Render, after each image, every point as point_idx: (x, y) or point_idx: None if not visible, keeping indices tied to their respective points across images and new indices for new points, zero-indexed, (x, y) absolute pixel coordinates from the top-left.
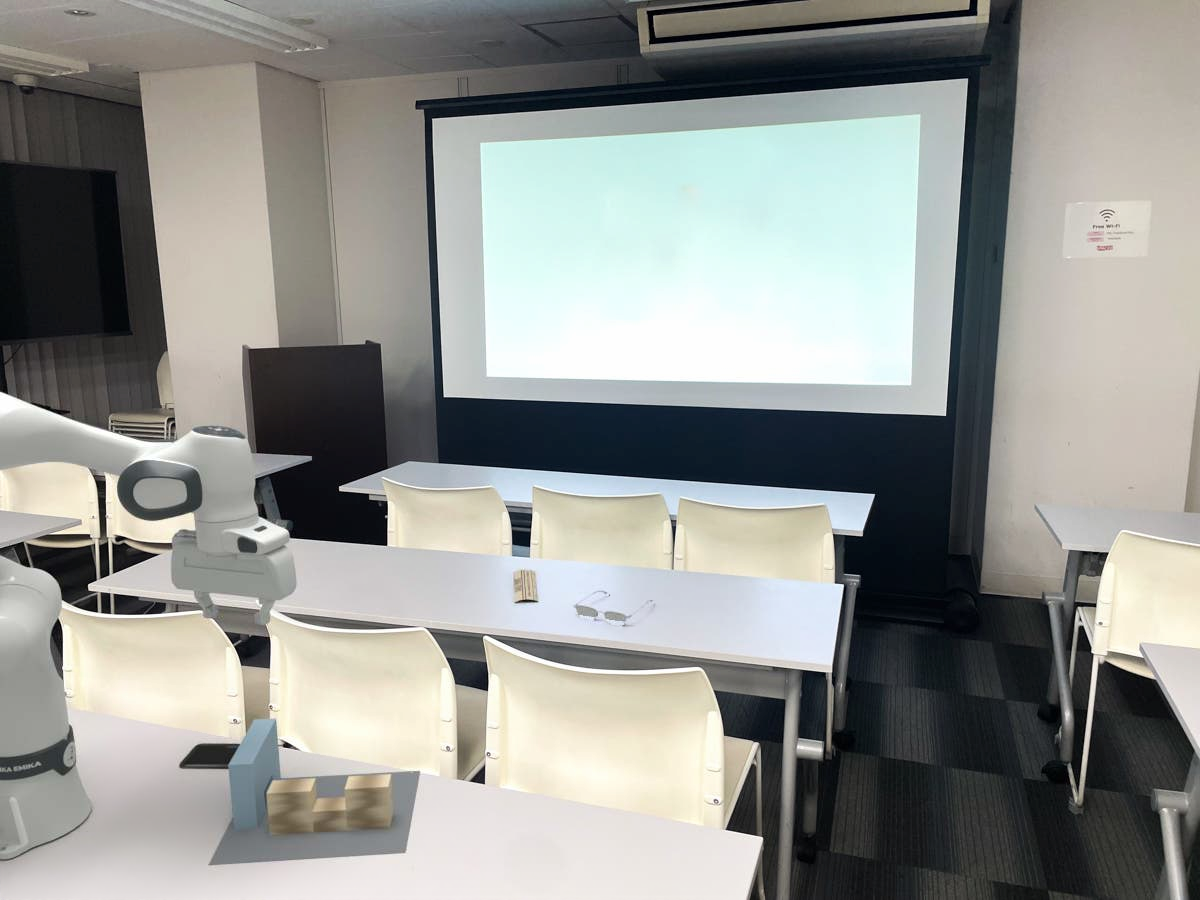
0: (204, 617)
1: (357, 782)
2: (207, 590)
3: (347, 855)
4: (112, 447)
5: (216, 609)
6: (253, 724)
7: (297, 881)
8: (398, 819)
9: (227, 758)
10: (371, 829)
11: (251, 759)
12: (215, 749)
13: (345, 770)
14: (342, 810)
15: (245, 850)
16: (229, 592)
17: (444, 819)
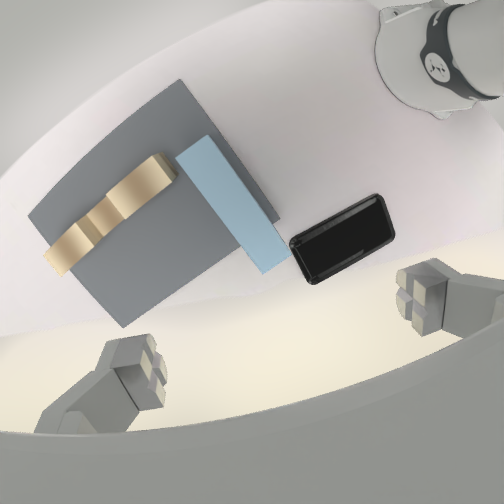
0: (429, 259)
1: (75, 242)
2: (490, 334)
3: (63, 178)
4: None
5: (412, 316)
6: (280, 243)
7: (78, 122)
8: None
9: (343, 234)
10: None
11: (187, 166)
12: (370, 240)
13: (197, 292)
14: (89, 212)
15: (163, 117)
16: (288, 418)
17: (44, 277)
